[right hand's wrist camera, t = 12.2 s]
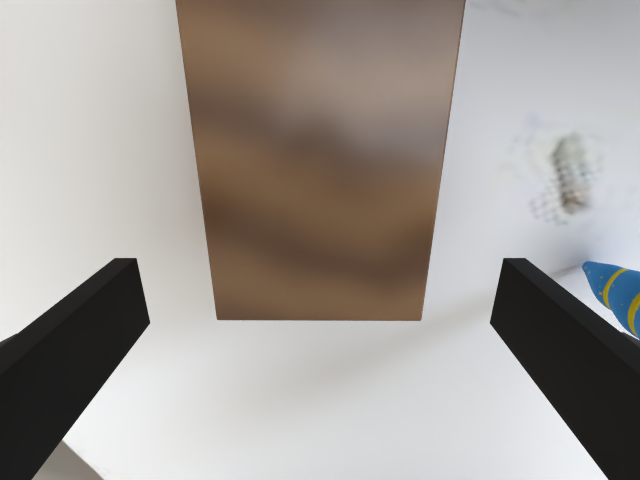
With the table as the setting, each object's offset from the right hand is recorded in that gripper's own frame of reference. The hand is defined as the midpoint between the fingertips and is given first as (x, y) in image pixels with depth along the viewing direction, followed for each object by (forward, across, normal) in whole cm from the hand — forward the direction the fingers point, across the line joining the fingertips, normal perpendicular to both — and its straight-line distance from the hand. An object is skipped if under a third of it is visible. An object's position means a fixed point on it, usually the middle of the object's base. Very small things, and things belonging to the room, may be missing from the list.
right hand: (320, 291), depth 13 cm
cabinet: (+14, 0, -6) cm, 15 cm away
